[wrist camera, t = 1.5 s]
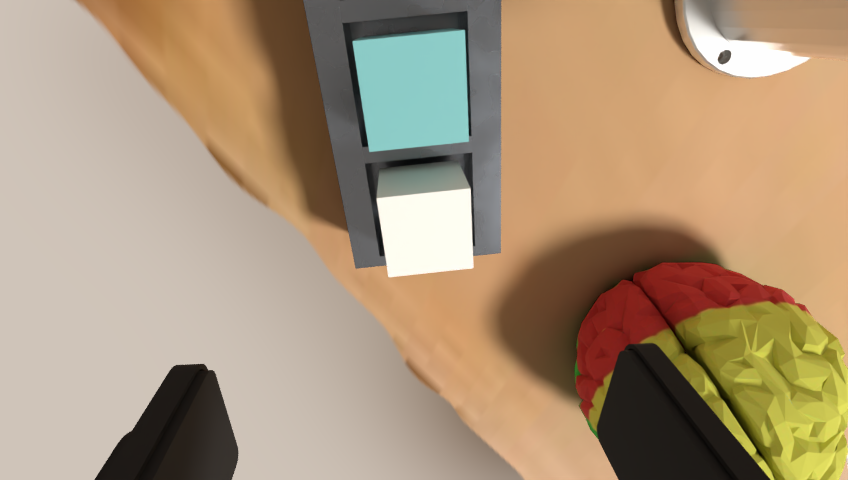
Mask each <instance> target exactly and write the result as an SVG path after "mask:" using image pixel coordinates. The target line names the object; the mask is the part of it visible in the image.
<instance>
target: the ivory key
mask: <svg viewBox="0 0 848 480" xmlns="http://www.w3.org/2000/svg"><path fill="white" fill-rule="evenodd" d="M377 205H378V211H379V218H380V224H381V231H382V237H383V244H384V251H385V257H386V264H387V270H388V277H396V276H405V275H414V274H424V273H433V272H442V271H451V270H461V269H470V268H473V242H472V214H471V188H470V186H469V184H468V182H467V179H466V177H465V175H464V173H463V170H462V168H461V166H460V164H459V162H458V160H455V161H445V162H435V163H426V164H416V165H407V166H397V167H387V168H380V169H379V179H378V188H377Z"/></svg>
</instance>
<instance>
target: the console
mask: <svg viewBox="0 0 848 480" xmlns="http://www.w3.org/2000/svg"><path fill="white" fill-rule="evenodd" d="M303 2H304V7H305V12H306V17H307V22H308V27H309V33H310V38H311V43H312V48H313V53H314V58H315V63H316V68H317V73H318V79H319V84H320V89H321V94H322V99H323V104H324V109H325V114H326V119H327V125H328V130H329V135H330V140H331V145H332V150H333V155H334V160H335V165H336V170H337V176H338V181H339V186H340V191H341V196H342V201H343V206H344V211H345V216H346V222H347V227H348V232H349V237H350V242H351V247H352V252H353V257H354V262H355V267H356V269H357V268H366V267H375V266H384V265H387V264H386V257H385V251H384V244H383V237H382V231H381V224H380V218H379V211H378V205H377V188H378V179H379V169H380V168H387V167H397V166H407V165H416V164H426V163H435V162H445V161H455V160H458V162H459V164H460V166H461V168H462V170H463V173H464V175H465V177H466V179H467V182H468V184H469V186H470V188H471V214H472V242H473V256H477V255H487V254H496V253H501V0H303ZM448 28H454V29H461V30H465V45H466V73H467V101H468V129H469V142H461V143H452V144H442V145H432V146H423V147H413V148H403V149H394V150H384V151H374V152H369V146H368V140H367V133H366V127H365V120H364V114H363V107H362V100H361V94H360V87H359V81H358V74H357V68H356V61H355V55H354V48H353V42H352V41H354V40H356V39H358V38H360V37H367V36H377V35H387V34H398V33H408V32H418V31H428V30H438V29H448Z"/></svg>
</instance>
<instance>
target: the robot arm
mask: <svg viewBox="0 0 848 480" xmlns="http://www.w3.org/2000/svg"><path fill="white" fill-rule="evenodd" d="M675 11H676V19H677V25H678V28H679V31H680V34H681V37H682V40H683V42H684V44H685V45H686V47H687V48H688V50H689V51H690V53H691V55H692V56H693V57H694V58H695V59H697V60H698V61H699V62H700V63H701V64H702V65H703V66H705V67H706V68H708V69H710V70H712V71H714V72H716V73H719V74H723V75H728V76H732V77H740V78H749V79H750V78H760V77H768V76H771V75H775V74H778V73H782V72H785V71H788V70H790V69H792V68H794V67H796V66H798V65H800V64H802V63H804V62H806V61H808V60H809V59H811V58H821V59H832V60H844V61H848V0H675ZM597 436H598V439H599V442H600V444H601V446H602V448H603V450H604V452H605V454H606V456H607V458H608V460H609V462H610V464H611V466H612V468H613V469H614V471H615V473H616V475H617V477H618V479H619V480H771V479H770V478H769V477H768V476H767V475H766V473H765V472H764V471H763V470H762V469H761V467H760V466H759V465H758V464H757V463H756V461H755V460H754V459H753V458H752V457H751V456H750V454H749V453H748V452H747V451H746V450H745V448H744V447H743V446H742V445H741V444H740V442H739V441H738V440H737V439H736V438H735V436H734V435H733V434H732V433H731V432H730V431H729V429H728V428H727V427H726V426H725V425H724V423H723V422H722V421H721V420H720V419H719V417H718V416H717V415H716V414H715V413H714V411H713V410H712V409H711V408H710V407H709V406H708V404H707V403H706V402H705V401H704V400H703V398H702V397H701V396H700V395H699V394H698V392H697V391H696V390H695V389H694V388H693V387H692V385H691V384H690V383H689V382H688V381H687V379H686V378H685V377H684V376H683V375H682V373H681V372H680V371H679V370H678V369H677V367H676V366H675V365H674V364H673V363H672V362H671V360H670V359H669V358H668V357H667V356H666V354H665V353H664V352H663V351H662V350H661V348H660V347H659V346H657V345H656V344H654V343H640V344H628V345H627V346H626V347H625V349H624V351H620V352H619V354H618V358H617V361H616V364H615V367H614V371H613V374H612V377H611V381H610V384H609V387H608V391H607V394H606V397H605V401H604V404H603V407H602V410H601V414H600V417H599V420H598V424H597ZM237 461H238V447H237V443H236V440H235V437H234V433H233V430H232V427H231V424H230V420H229V417H228V414H227V410H226V407H225V404H224V400H223V397H222V394H221V391H220V388H219V384H218V381H217V377H216V374H215V372H214V371H213V370H208V369H207V367H206V366H205V365H204V364H192V365H176V366H174V367H173V368H172V369H171V370H170V371H169V373H168V374H167V376H166V378H165V379H164V381H163V382H162V384H161V386H160V387H159V389H158V390H157V392H156V394H155V395H154V397H153V398H152V400H151V402H150V403H149V405H148V406H147V408H146V409H145V411H144V413H143V414H142V416H141V417H140V419H139V421H138V422H137V424H136V425H135V427H134V428H133V430H132V431H131V432H129V433H128V434H126V435H125V436H124V437H123V438H122V439H121V440H120V442H119V443H118V444H117V446H116V447H115V449H114V450H113V452H112V454H111V455H110V457H109V458H108V460H107V461H106V463H105V464H104V466H103V467H102V469H101V470H100V472H99V474H98V475H97V477H96V478H95V480H232V477H233V474H234V471H235V468H236V465H237Z"/></svg>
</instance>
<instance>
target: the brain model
mask: <svg viewBox="0 0 848 480" xmlns="http://www.w3.org/2000/svg"><path fill="white" fill-rule="evenodd" d="M640 343H654V344H656V345H657V346H659V347H660V348H661V350H662V351H663V352H664V353H665V354H666V356H667V357H668V358H669V359H670V360H671V362H672V363H673V364H674V365H675V366H676V367H677V369H678V370H679V371H680V372H681V373H682V375H683V376H684V377H685V378H686V379H687V381H688V382H689V383H690V384H691V385H692V387H693V388H694V389H695V390H696V391H697V392H698V394H699V395H700V396H701V397H702V398H703V400H704V401H705V402H706V403H707V404H708V406H709V407H710V408H711V409H712V410H713V411H714V413H715V414H716V415H717V416H718V417H719V419H720V420H721V421H722V422H723V423H724V425H725V426H726V427H727V428H728V429H729V431H730V432H731V433H732V434H733V435H734V436H735V438H736V439H737V440H738V441H739V442H740V444H741V445H742V446H743V447H744V448H745V450H746V451H747V452H748V453H749V454H750V456H751V457H752V458H753V459H754V460H755V461H756V463H757V464H758V465H759V466H760V467H761V469H762V470H763V471H764V472H765V473H766V475H767V476H768V477H769V478H770V479H771V480H839V479H840V476H841V473H842V471H843V469H844V465H845V461H846V457H847V454H848V448H847V442H846V438H845V435H844V431H845V429H846V427H847V421H848V368H847V367H846V365H845V364H844V362H843V360H842V359H843V357H844V354H845V353H844V351H843V349H842V347H841V345H840V342H839V340H838V338H836V337H835V336H834V335H833V334H831V333H830V332H829V331H828V330H826V329H825V328H824V327H823V326H821V325H820V324H819V323H818V322H816V321H815V320H814V318H813V317H812V315H811V314H810V313H809V311H808V310H807V308H806V307H805V305H802V304H799V303H795V301H794V299H793V298H792V297H791V296H790V295H788V294H787V293H786V292H785V291H783V290H781V289H778V288H774V287H770V286H767V285H764V286H763V285H761V284H759V283H757V282H755V281H754V280H752V279H750V278H748V277H746V276H744V275H742V274H740V273H737V272H734V271H730V270H727V269H725V268H723V267H721V266H719V265H717V264H710V263H702V262H686V263H666V262H662V263H660V264H658V265H656V266H655V267H653V268H651V269H649V270H645V271H641V272H637V273H635V274H634V277H633V282H632V281H628V280H621V281H620V282H619V283H618V284H617V285H616V286H615V287H614V288H612V289H610V290H608V291H606V292H605V293H603V294H601V295H600V296H599V298H598V299H597V300H596V302H595V303H594V305H593V306H592V308H591V309H590V311H589V313H588V314H587V316H586V317H585V319H584V320H583V322H582V324H581V327H580V330H579V333H578V338H577V343H576V347H577V348H576V349H577V353H578V355H577V359H576V364H575V368H574V371H575V386H576V391H577V393H578V395H579V396H580V398H581V399H583V401H582V402H581V403H580V405H579V407H580V409H581V411H582V413H583V414H584V416H585V418H586V420H587V423H588V425H589V427H590V430H591V431H592V432H593V433H594V434H595V436H596V437H597V438H598V436H597V424H598V420H599V417H600V414H601V410H602V407H603V404H604V401H605V397H606V394H607V391H608V387H609V384H610V381H611V377H612V374H613V371H614V367H615V364H616V361H617V358H618V354H619V352H620V351H624V349H625V347H626V346H627V345H628V344H640ZM684 350H685V352H686V353H687V354H684Z"/></svg>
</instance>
